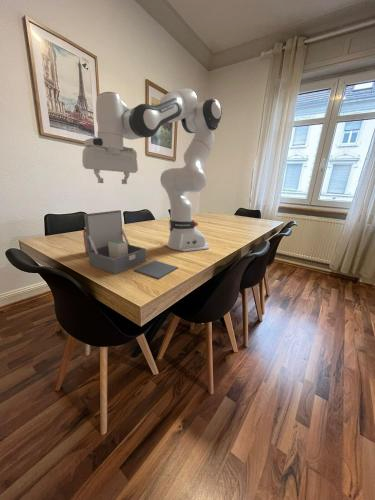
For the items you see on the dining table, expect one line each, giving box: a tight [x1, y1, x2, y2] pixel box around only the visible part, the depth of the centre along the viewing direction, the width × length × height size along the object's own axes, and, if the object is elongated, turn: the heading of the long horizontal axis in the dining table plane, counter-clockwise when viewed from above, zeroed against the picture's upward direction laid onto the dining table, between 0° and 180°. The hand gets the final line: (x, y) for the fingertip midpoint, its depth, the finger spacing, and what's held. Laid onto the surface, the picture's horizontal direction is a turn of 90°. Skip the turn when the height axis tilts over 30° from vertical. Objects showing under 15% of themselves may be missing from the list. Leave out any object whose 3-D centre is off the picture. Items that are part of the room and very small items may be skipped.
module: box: [108, 240, 128, 259], centre depth 84 cm, size 6×4×9 cm
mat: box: [133, 260, 179, 280], centre depth 80 cm, size 12×12×1 cm
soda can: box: [82, 226, 89, 255], centre depth 93 cm, size 7×7×12 cm
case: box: [83, 209, 147, 275], centre depth 82 cm, size 15×17×20 cm
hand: (113, 183), depth 81 cm, fingers open, 8 cm apart
